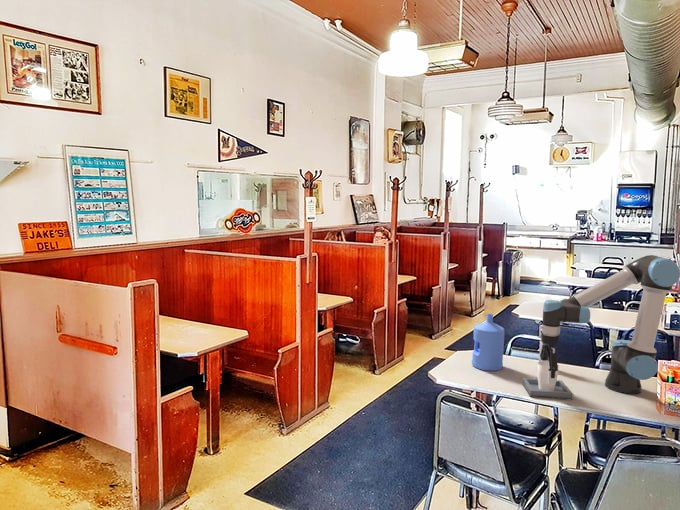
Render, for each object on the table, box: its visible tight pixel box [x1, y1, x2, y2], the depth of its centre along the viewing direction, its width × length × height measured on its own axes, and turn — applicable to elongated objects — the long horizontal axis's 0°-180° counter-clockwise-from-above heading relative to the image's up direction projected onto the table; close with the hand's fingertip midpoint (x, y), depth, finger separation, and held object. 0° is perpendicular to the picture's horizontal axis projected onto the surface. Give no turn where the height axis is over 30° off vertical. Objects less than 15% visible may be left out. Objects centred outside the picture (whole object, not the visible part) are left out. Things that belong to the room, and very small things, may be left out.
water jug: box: [471, 313, 505, 372], centre depth 264 cm, size 16×16×28 cm
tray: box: [521, 377, 573, 400], centre depth 233 cm, size 18×16×3 cm
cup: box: [536, 361, 559, 391], centre depth 232 cm, size 9×9×12 cm
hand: (547, 379), depth 232 cm, fingers open, 13 cm apart
